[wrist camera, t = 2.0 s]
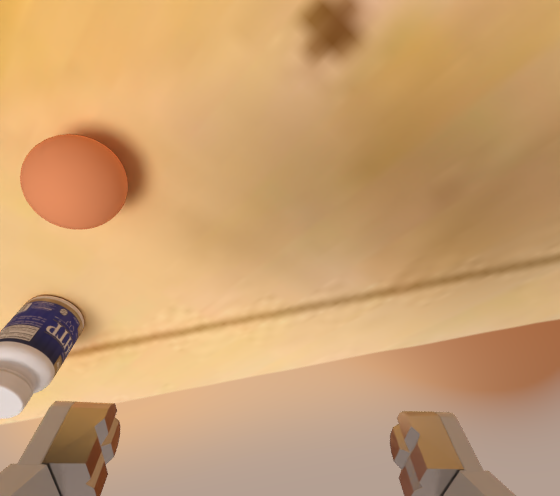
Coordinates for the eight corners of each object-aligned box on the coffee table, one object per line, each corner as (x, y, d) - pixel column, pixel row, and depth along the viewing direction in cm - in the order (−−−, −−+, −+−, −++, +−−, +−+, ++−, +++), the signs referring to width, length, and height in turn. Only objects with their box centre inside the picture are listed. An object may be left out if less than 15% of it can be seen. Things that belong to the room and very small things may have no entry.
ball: (134, 129, 24) (100, 155, 19) (142, 208, 27) (115, 249, 22) (42, 120, 24) (-19, 144, 19) (61, 202, 27) (13, 243, 22)
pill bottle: (93, 335, 34) (44, 422, 26) (38, 339, 34) (-27, 427, 26) (74, 291, 31) (13, 374, 24) (13, 295, 31) (-67, 379, 24)
